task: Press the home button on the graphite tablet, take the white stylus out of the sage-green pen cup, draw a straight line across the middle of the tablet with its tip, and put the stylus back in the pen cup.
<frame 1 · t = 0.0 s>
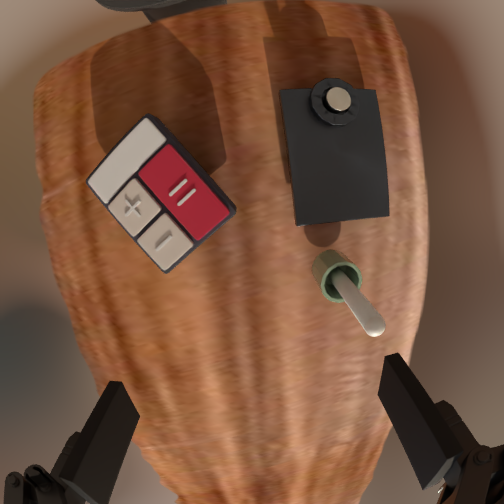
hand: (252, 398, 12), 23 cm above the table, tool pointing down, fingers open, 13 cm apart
stylus: (331, 269, 34), resting on pen cup
calculator: (163, 192, 32), on the table
tablet: (337, 153, 30), on the table
home button: (337, 100, 26), point 3 cm above the table, slide at 0.2 cm
pen cup: (330, 267, 34), on the table
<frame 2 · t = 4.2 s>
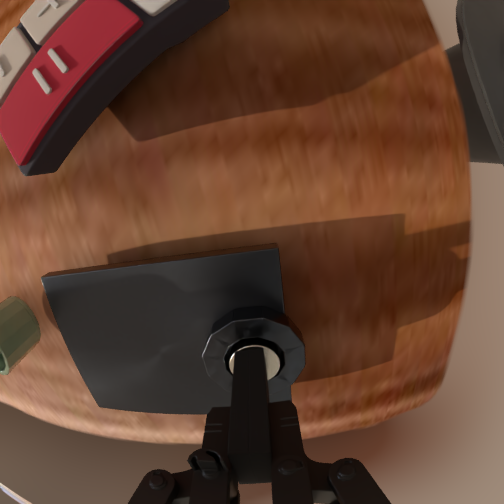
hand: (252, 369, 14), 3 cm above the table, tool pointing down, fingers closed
calculator: (92, 43, 12), on the table
tablet: (164, 344, 17), on the table
home button: (254, 358, 15), point 2 cm above the table, slide at -0.5 cm, touching gripper
pen cup: (22, 321, 17), on the table
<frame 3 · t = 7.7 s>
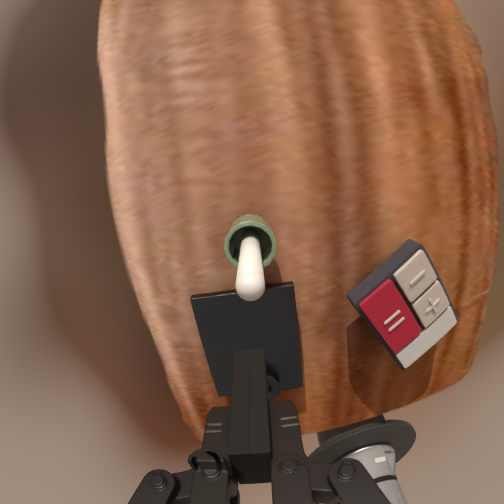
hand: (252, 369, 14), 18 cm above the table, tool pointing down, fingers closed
stylus: (250, 236, 30), resting on pen cup
calculator: (402, 303, 34), on the table
tablet: (251, 344, 35), on the table
pen cup: (250, 235, 31), on the table
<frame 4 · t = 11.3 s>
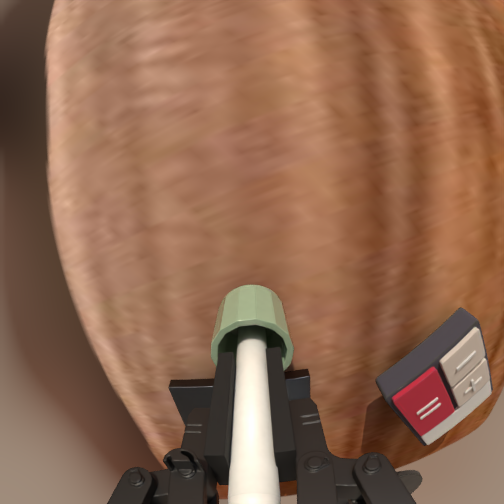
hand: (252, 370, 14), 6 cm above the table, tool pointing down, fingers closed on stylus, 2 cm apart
stylus: (251, 317, 20), resting on pen cup, touching gripper
calculator: (436, 377, 23), on the table
tablet: (249, 430, 24), on the table
pen cup: (251, 314, 20), on the table
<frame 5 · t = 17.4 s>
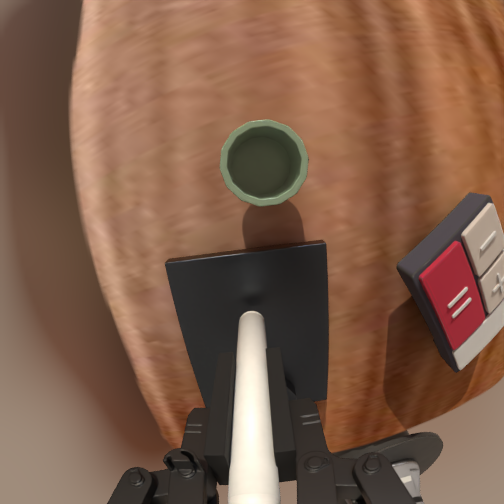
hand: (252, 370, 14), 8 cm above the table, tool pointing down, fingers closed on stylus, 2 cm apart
stylus: (251, 317, 20), point 3 cm above the table, touching gripper
calculator: (458, 282, 22), on the table
tablet: (257, 338, 23), on the table
pen cup: (261, 165, 19), on the table
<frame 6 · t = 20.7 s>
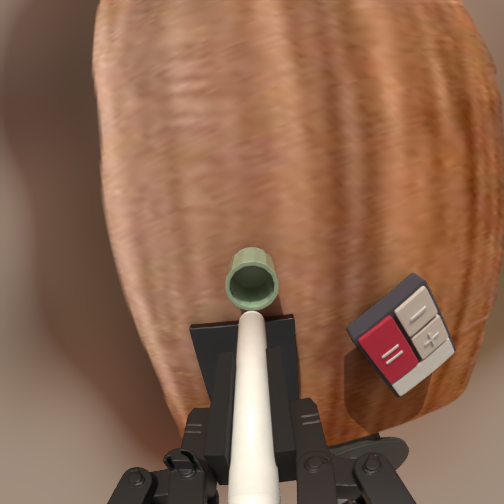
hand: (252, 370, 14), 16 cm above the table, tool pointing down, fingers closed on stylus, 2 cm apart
stylus: (251, 317, 20), point 10 cm above the table, touching gripper
calculator: (401, 333, 33), on the table
tablet: (250, 371, 34), on the table
pen cup: (251, 268, 30), on the table
when the fingers open (6 cm above the table, at t = 23.5 s): stylus stays where it is, resting on pen cup.
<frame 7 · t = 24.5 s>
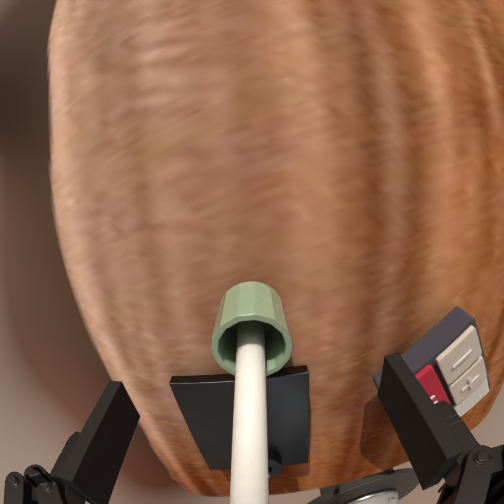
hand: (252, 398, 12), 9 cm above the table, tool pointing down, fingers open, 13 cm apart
stylus: (251, 311, 20), point 1 cm above the table, tilted 17°, touching pen cup
calculator: (433, 375, 24), on the table
tablet: (249, 426, 25), on the table
home button: (256, 472, 24), point 3 cm above the table, slide at 0.1 cm
pen cup: (251, 310, 21), on the table
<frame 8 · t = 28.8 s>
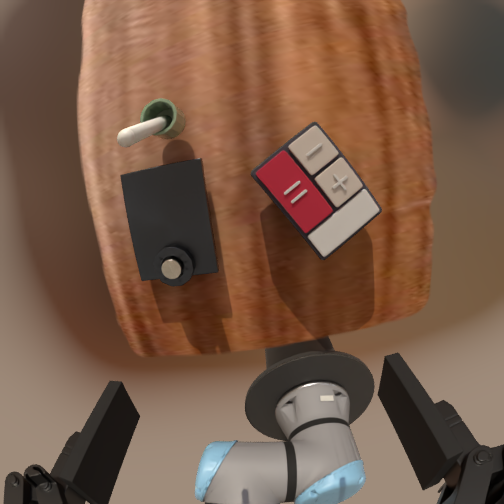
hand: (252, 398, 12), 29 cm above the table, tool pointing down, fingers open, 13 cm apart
stylus: (167, 120, 34), point 1 cm above the table, tilted 17°, touching pen cup
calculator: (314, 189, 38), on the table
tablet: (169, 221, 39), on the table
home button: (172, 267, 37), point 3 cm above the table, slide at 0.1 cm
pen cup: (169, 123, 35), on the table
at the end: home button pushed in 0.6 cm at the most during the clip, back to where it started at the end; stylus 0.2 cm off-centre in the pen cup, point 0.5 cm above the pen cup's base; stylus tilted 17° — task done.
